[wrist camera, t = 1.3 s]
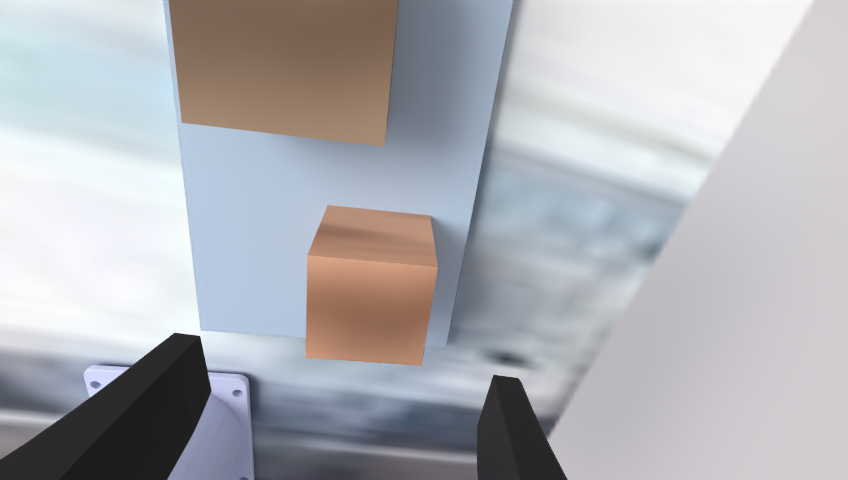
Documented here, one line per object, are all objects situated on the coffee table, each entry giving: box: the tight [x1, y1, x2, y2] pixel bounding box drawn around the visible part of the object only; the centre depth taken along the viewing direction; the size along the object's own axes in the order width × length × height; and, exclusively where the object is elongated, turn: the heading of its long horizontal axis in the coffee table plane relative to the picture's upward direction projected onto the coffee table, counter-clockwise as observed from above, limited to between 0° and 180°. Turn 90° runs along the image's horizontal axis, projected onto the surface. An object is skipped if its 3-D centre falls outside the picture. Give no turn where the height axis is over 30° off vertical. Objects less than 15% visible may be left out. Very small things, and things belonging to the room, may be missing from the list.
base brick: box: [168, 0, 399, 147], centre depth 14 cm, size 6×6×4 cm
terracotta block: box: [306, 205, 438, 366], centre depth 18 cm, size 4×4×4 cm
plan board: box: [163, 0, 513, 348], centre depth 18 cm, size 18×12×1 cm, turn 172°
